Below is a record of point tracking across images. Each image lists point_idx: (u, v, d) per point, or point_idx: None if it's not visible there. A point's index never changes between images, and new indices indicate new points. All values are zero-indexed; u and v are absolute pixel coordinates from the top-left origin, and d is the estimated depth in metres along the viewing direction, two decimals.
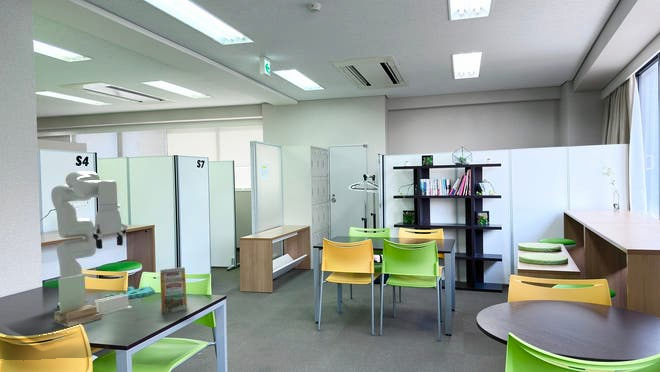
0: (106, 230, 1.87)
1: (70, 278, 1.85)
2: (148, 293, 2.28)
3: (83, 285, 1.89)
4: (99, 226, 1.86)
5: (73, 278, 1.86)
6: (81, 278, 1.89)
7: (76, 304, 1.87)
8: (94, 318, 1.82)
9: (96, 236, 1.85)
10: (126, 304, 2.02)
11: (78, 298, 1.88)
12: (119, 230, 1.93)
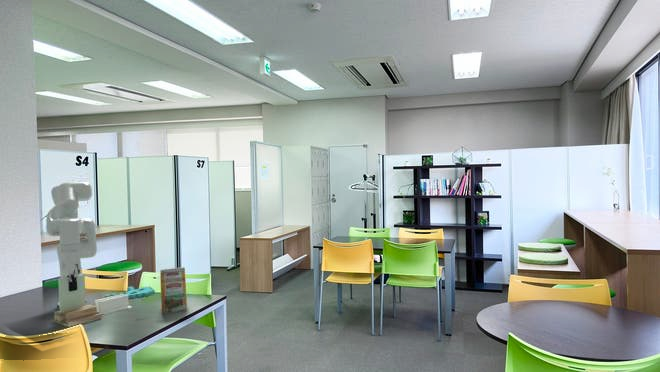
0: None
1: None
2: (148, 293, 2.28)
3: (83, 285, 1.89)
4: (78, 265, 1.84)
5: None
6: (81, 278, 1.89)
7: (76, 303, 1.87)
8: (94, 318, 1.82)
9: None
10: (126, 304, 2.02)
11: (78, 298, 1.88)
12: None
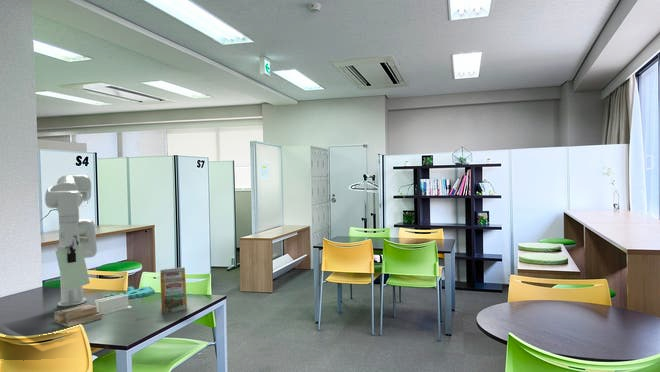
0: None
1: (67, 249, 1.85)
2: (148, 293, 2.28)
3: (81, 254, 1.90)
4: (77, 237, 1.84)
5: None
6: (78, 248, 1.89)
7: (78, 273, 1.88)
8: (94, 318, 1.82)
9: None
10: (126, 304, 2.02)
11: (79, 267, 1.89)
12: None
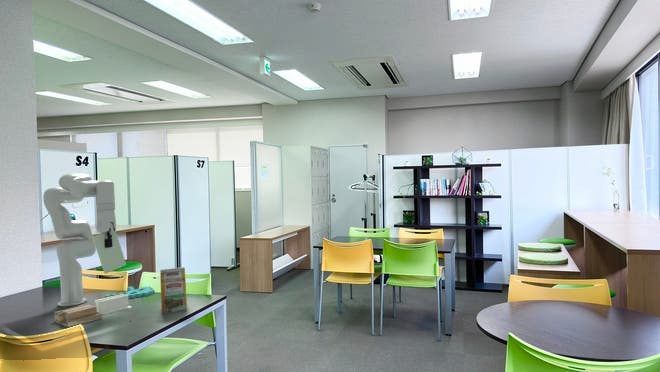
0: None
1: (103, 234, 1.97)
2: (148, 293, 2.28)
3: (116, 238, 2.02)
4: (114, 223, 1.97)
5: None
6: None
7: (115, 256, 2.01)
8: (94, 318, 1.82)
9: None
10: (126, 304, 2.02)
11: (115, 251, 2.01)
12: None
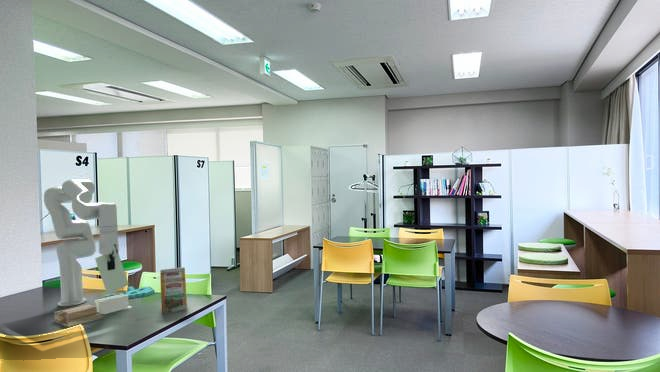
0: None
1: (105, 255, 1.97)
2: (148, 293, 2.28)
3: (118, 259, 2.02)
4: (117, 246, 1.97)
5: None
6: None
7: (117, 276, 2.01)
8: (94, 318, 1.82)
9: None
10: (126, 304, 2.02)
11: (117, 271, 2.01)
12: None
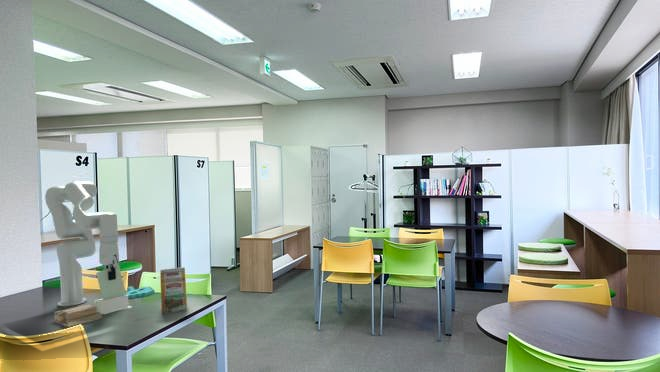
0: None
1: (106, 270, 1.98)
2: (148, 293, 2.28)
3: (119, 275, 2.02)
4: (117, 256, 1.97)
5: None
6: (116, 269, 2.01)
7: (117, 292, 2.01)
8: (94, 318, 1.82)
9: None
10: (126, 304, 2.02)
11: (117, 287, 2.01)
12: None
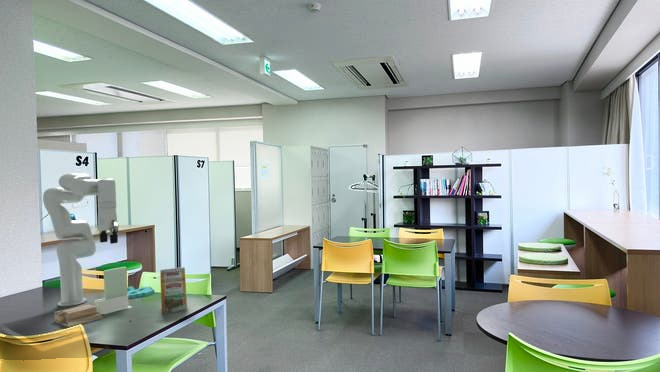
0: None
1: (114, 270, 2.00)
2: (148, 293, 2.28)
3: (125, 277, 2.04)
4: (115, 221, 1.97)
5: (116, 270, 2.01)
6: (123, 270, 2.04)
7: (119, 294, 2.02)
8: (94, 318, 1.82)
9: None
10: (126, 304, 2.02)
11: (121, 288, 2.03)
12: None
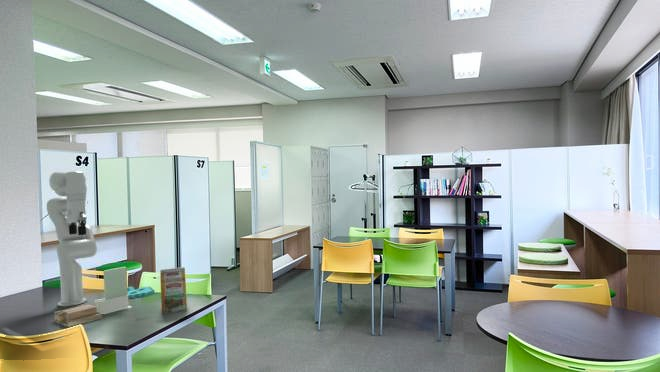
0: None
1: (114, 270, 2.00)
2: (148, 293, 2.28)
3: (125, 277, 2.04)
4: (83, 213, 1.99)
5: (116, 270, 2.01)
6: (123, 270, 2.04)
7: (119, 294, 2.02)
8: (94, 318, 1.82)
9: None
10: (126, 304, 2.02)
11: (121, 288, 2.03)
12: None
